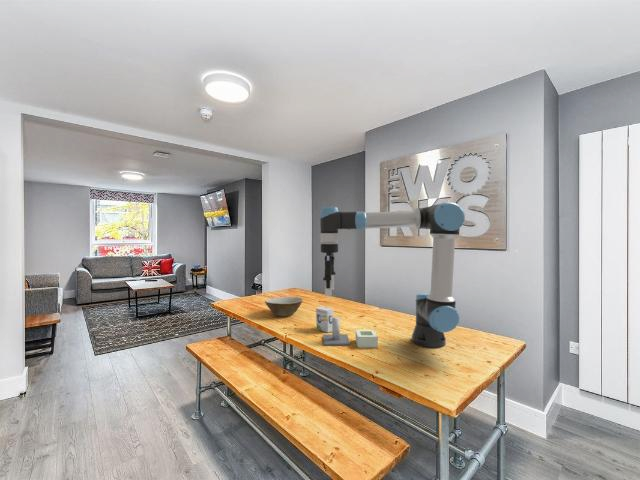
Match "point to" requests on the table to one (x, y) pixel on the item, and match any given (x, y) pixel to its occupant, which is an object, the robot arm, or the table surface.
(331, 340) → the post
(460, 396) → the table surface
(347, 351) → the table surface
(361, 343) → the collar
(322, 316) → the ink box
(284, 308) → the bowl
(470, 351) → the table surface
